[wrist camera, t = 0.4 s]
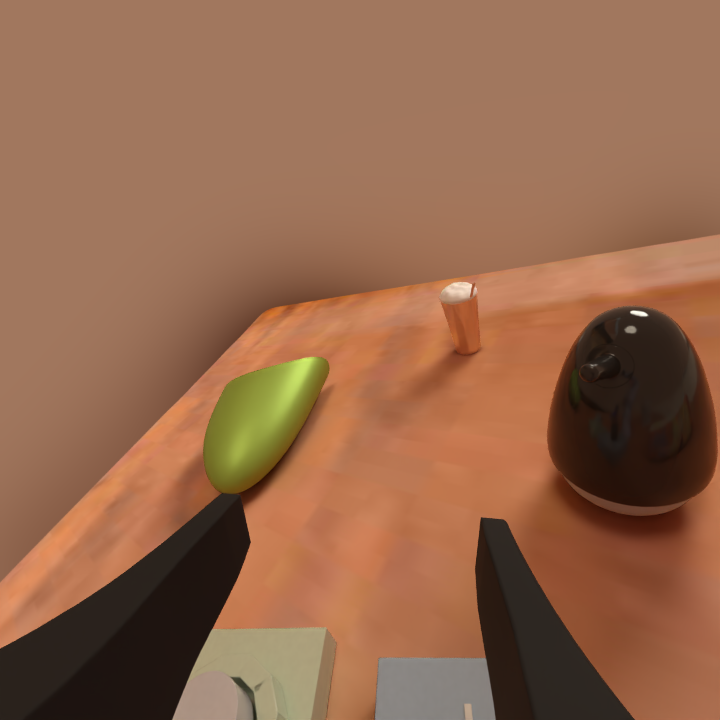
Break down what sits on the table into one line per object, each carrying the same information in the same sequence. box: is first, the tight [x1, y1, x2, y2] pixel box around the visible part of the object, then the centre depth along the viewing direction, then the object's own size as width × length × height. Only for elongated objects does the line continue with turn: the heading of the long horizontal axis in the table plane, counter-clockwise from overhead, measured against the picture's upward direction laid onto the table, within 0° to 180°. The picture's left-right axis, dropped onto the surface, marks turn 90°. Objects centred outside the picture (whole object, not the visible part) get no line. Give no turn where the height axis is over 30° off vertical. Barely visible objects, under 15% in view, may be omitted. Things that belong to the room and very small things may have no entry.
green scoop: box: [203, 357, 329, 494], centre depth 47 cm, size 8×12×20 cm
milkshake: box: [439, 282, 481, 355], centre depth 50 cm, size 5×5×10 cm
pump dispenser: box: [547, 306, 718, 516], centre depth 27 cm, size 10×10×15 cm
